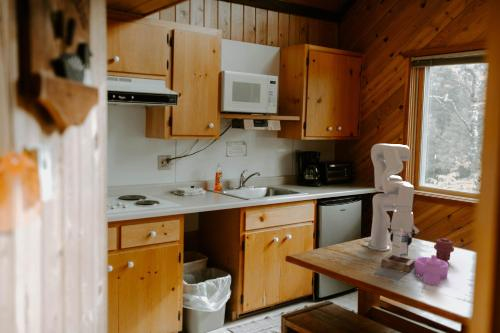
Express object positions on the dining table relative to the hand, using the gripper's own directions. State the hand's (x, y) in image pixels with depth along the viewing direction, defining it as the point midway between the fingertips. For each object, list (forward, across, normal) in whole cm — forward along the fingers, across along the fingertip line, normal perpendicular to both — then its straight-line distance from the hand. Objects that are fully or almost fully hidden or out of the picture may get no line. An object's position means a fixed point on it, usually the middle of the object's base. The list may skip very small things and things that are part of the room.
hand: (400, 242), depth 246 cm
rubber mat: (+12, 0, -14) cm, 19 cm away
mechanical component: (+13, +16, +27) cm, 34 cm away
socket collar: (+12, 0, 0) cm, 12 cm away
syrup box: (+7, 0, 0) cm, 7 cm away
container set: (+13, +17, -5) cm, 22 cm away
